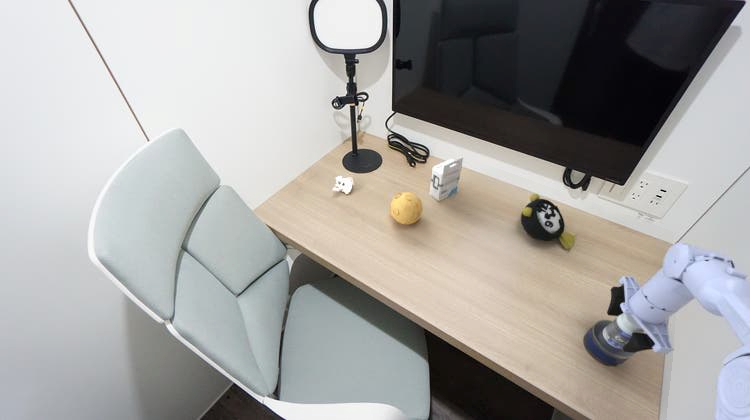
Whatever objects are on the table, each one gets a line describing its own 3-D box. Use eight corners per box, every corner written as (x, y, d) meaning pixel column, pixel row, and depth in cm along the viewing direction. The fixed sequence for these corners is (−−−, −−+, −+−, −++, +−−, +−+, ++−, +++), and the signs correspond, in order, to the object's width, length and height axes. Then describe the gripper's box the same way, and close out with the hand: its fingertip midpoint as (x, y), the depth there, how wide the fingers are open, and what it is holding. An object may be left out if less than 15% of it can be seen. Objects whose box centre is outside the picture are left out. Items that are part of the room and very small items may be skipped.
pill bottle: (606, 347, 65) (628, 329, 59) (599, 325, 68) (619, 306, 62) (631, 351, 64) (656, 333, 58) (622, 329, 68) (645, 309, 62)
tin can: (633, 359, 68) (647, 349, 64) (604, 372, 66) (616, 364, 63) (602, 324, 74) (613, 314, 70) (574, 336, 72) (584, 326, 68)
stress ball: (394, 206, 104) (394, 183, 97) (423, 211, 102) (426, 188, 95) (386, 227, 97) (387, 204, 90) (418, 233, 95) (421, 210, 88)
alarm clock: (541, 263, 91) (535, 234, 81) (516, 228, 101) (509, 198, 92) (582, 247, 88) (581, 215, 79) (553, 212, 99) (549, 180, 89)
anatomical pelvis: (335, 172, 112) (353, 171, 111) (337, 181, 114) (355, 180, 114) (331, 186, 106) (350, 185, 105) (333, 196, 109) (352, 195, 108)
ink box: (446, 185, 111) (453, 149, 101) (456, 192, 108) (464, 157, 98) (428, 194, 108) (433, 158, 98) (438, 202, 105) (444, 166, 95)
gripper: (618, 261, 60) (586, 298, 70) (658, 334, 50) (614, 366, 60) (658, 264, 60) (620, 301, 69) (706, 339, 49) (654, 370, 59)
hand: (620, 331), depth 64 cm, fingers open, 7 cm apart
